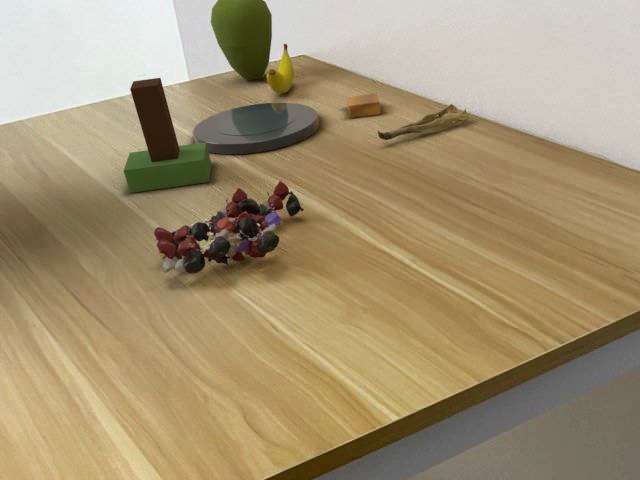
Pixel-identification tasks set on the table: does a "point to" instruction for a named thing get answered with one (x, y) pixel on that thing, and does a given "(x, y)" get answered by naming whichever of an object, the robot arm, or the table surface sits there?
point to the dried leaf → (428, 123)
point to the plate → (256, 128)
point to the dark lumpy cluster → (227, 232)
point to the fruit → (281, 74)
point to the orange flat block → (363, 105)
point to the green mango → (244, 35)
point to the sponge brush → (162, 146)
